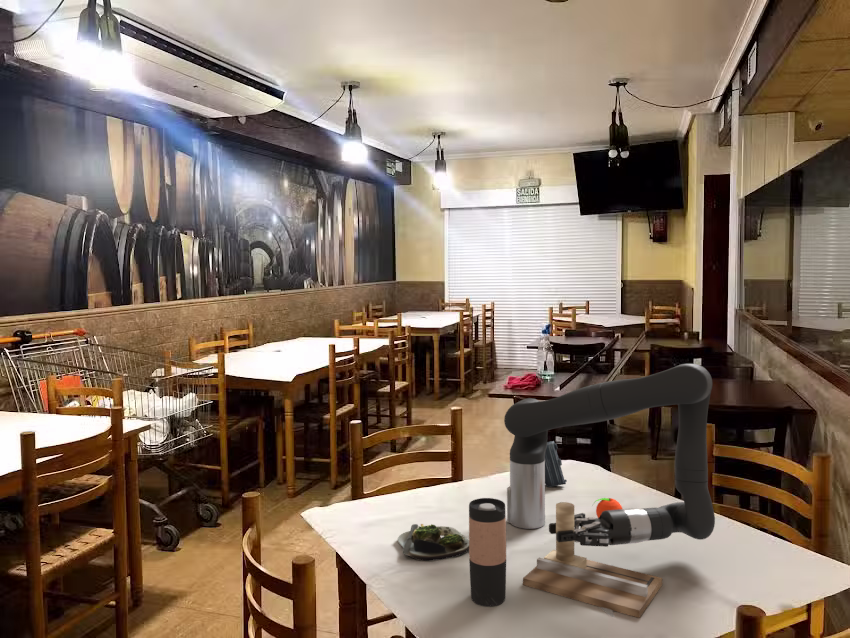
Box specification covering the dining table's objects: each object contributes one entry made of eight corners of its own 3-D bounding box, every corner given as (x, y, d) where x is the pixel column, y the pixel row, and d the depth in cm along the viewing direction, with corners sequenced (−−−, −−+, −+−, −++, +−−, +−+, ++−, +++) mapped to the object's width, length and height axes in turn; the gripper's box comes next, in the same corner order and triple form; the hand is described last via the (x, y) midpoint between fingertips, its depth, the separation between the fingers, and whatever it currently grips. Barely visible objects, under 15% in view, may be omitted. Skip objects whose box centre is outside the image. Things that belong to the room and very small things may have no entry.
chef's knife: (600, 623, 128) (616, 622, 127) (600, 617, 127) (616, 616, 127) (585, 576, 146) (599, 576, 146) (585, 571, 146) (598, 571, 146)
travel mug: (467, 590, 140) (465, 498, 139) (502, 588, 141) (501, 496, 139) (472, 608, 133) (471, 511, 131) (510, 606, 133) (509, 509, 132)
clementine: (590, 527, 173) (590, 500, 172) (593, 517, 179) (593, 492, 179) (621, 531, 170) (621, 504, 169) (624, 521, 176) (624, 495, 176)
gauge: (543, 566, 147) (543, 505, 146) (554, 557, 152) (554, 497, 151) (577, 575, 143) (577, 512, 142) (587, 565, 147) (587, 504, 146)
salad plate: (384, 535, 171) (384, 518, 170) (448, 525, 177) (448, 508, 176) (407, 567, 152) (407, 547, 152) (478, 554, 158) (478, 536, 158)
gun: (507, 438, 210) (553, 429, 206) (521, 489, 210) (567, 481, 206) (505, 440, 208) (551, 431, 203) (519, 492, 208) (566, 483, 203)
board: (522, 584, 142) (522, 569, 142) (553, 557, 155) (553, 543, 155) (639, 618, 128) (639, 600, 128) (662, 584, 141) (662, 569, 141)
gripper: (611, 499, 156) (541, 505, 153) (640, 521, 142) (565, 528, 139) (611, 530, 156) (542, 536, 153) (640, 555, 142) (565, 563, 139)
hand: (553, 532), depth 146 cm, fingers closed on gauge, 4 cm apart
